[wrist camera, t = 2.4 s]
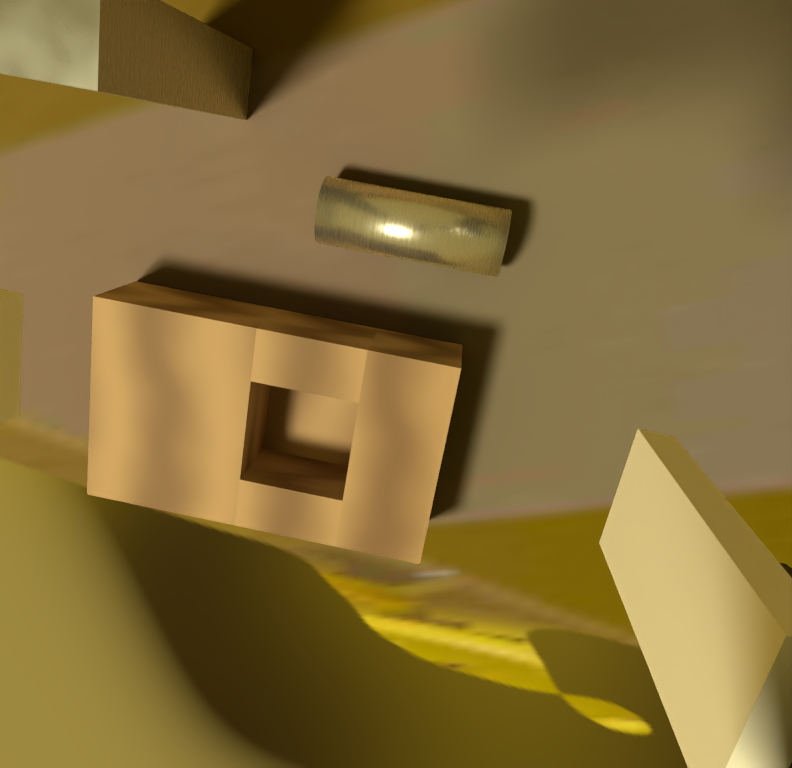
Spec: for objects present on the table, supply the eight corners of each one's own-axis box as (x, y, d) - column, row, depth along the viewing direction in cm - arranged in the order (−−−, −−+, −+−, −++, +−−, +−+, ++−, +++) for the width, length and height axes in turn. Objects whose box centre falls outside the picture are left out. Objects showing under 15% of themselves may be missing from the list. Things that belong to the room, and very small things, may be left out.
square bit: (253, 49, 37) (101, -31, 22) (246, 119, 38) (97, 91, 23) (188, 37, 37) (-8, -50, 22) (183, 108, 38) (-6, 72, 23)
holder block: (462, 344, 41) (461, 368, 36) (425, 521, 44) (419, 564, 40) (136, 281, 42) (93, 296, 37) (127, 459, 45) (87, 494, 41)
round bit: (507, 214, 39) (514, 205, 35) (494, 278, 39) (499, 276, 36) (333, 182, 39) (322, 170, 36) (323, 245, 40) (310, 240, 36)
